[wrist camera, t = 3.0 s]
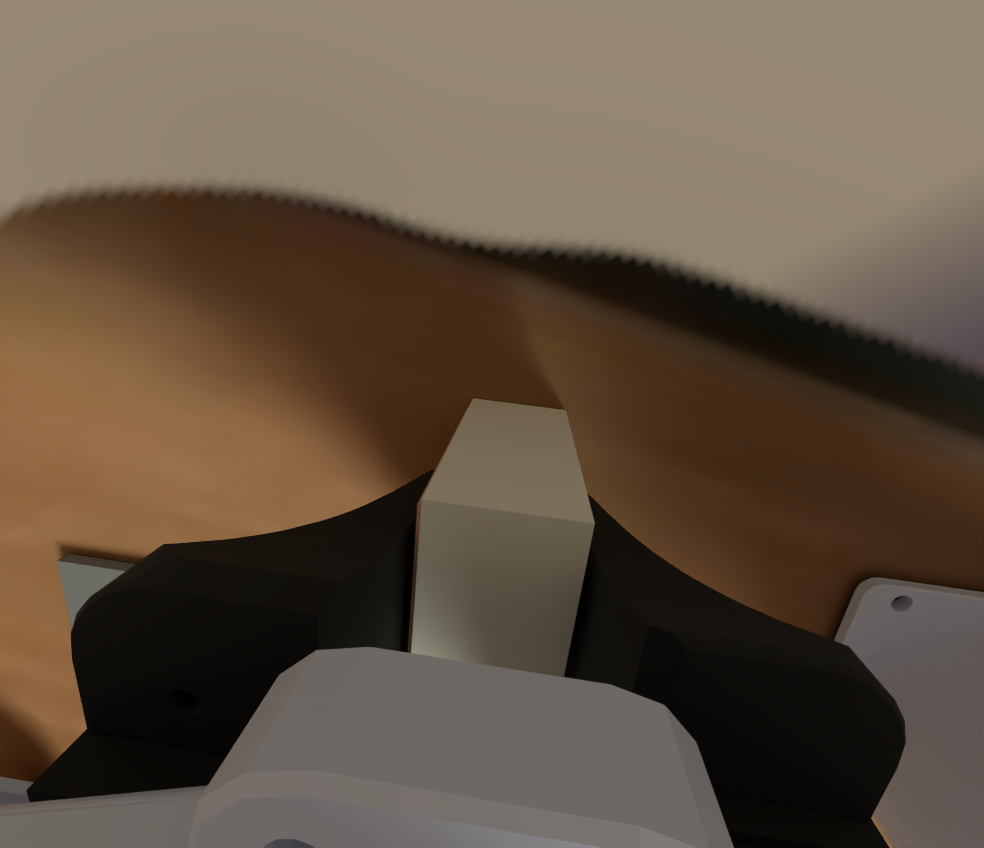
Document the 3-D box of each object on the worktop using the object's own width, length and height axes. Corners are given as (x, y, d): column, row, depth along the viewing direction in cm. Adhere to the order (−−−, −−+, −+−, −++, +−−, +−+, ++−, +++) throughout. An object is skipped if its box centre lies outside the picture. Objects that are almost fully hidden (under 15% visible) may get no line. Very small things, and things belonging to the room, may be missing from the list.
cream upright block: (565, 410, 12) (594, 523, 6) (539, 568, 14) (543, 774, 8) (469, 397, 12) (414, 498, 7) (454, 556, 14) (398, 749, 8)
